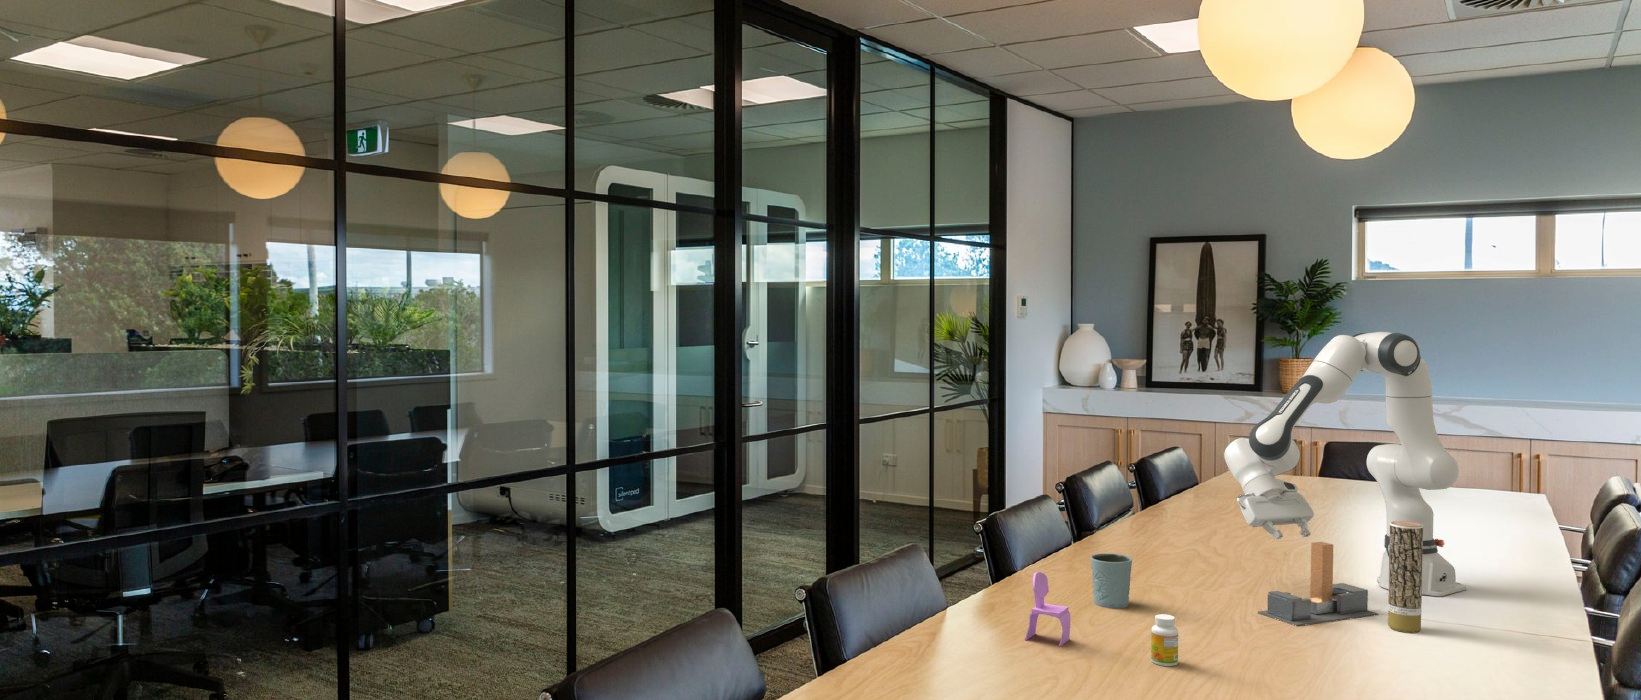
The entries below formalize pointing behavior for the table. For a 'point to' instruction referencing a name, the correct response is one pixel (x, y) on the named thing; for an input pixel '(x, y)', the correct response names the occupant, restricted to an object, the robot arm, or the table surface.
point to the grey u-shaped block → (1350, 598)
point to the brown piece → (1322, 579)
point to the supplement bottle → (1164, 641)
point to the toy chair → (1047, 609)
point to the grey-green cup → (1111, 579)
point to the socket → (1288, 606)
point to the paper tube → (1405, 576)
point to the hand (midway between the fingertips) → (1293, 536)
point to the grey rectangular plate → (1323, 617)
